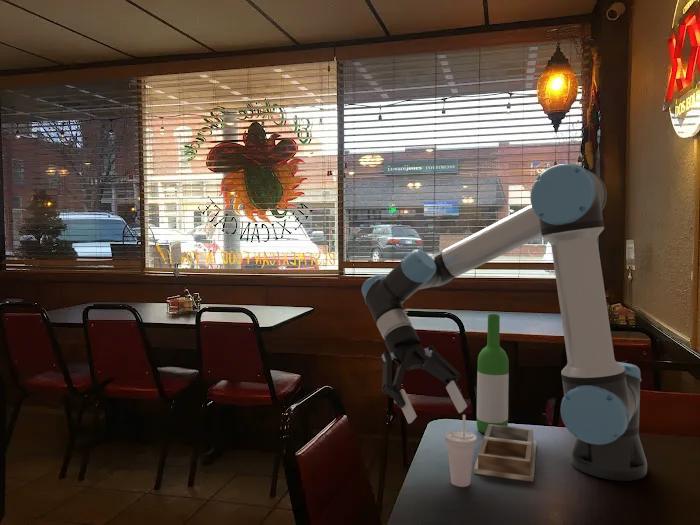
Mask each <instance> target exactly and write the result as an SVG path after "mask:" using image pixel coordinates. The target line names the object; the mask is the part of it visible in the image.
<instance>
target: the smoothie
mask: <svg viewBox="0 0 700 525" xmlns="http://www.w3.org/2000/svg"><path fill="white" fill-rule="evenodd" d="M466 417H467V416H466V414H462V430H454V431H449V432H446V434H445V437H444V438H445V439H444V441H445V442H446V446H447V454H448V466H449V472H450V481H451V482H450V483H451V485H453V486H455V487H458V488H465V487H469V486H470V484H471V478H472V472H473V465H474V463H473V462H474V456H475V449H476V445H477V443H478V436H477V435H475V434H474V433H473V432H469V431H466V421H467V420H466Z"/></svg>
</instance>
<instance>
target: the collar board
mask: <svg viewBox="0 0 700 525" xmlns="http://www.w3.org/2000/svg"><path fill="white" fill-rule="evenodd" d="M536 456H537V441H536V440H534V428H529V427H528V428H527V427H526V428H525V427H517V426H512V425H511V426H510V425H508V426H502V425H493V424H488V427H487V430H486V433H485V434H484V436H483V439H482V442H481V445H480V447H479V450H478V454H477V459H476V462H475V465H474V468H473V474H475V475H484V476H488V477H489V476H490V477H498V478H505V479H511V480H518V481H525V482H531V483H534V481H535V480H534V479H535V467H536Z"/></svg>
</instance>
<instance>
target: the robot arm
mask: <svg viewBox="0 0 700 525" xmlns="http://www.w3.org/2000/svg"><path fill="white" fill-rule="evenodd" d="M607 196H608V195H607V188H606V185H605V183H604V182H603V180H602V179H601V177H599V176H598V175H597V174H596V173H594V172H592V171H591V170H588V169H586V168H584V167H583V166H580V165H578V164H573V163H561V164H556V165H553V166H551V167H550V166H549V167H548V168H547V169H545V170H544V171H542V172H541V173H540V174H539V175H538V176H537V177H536V179H535V180H534V181H533V184H532V186H531V189H530V196H529V197H530V198H529V199H530V205H527V206H526V207H524V208H521V209H519V210H518V211H515V212H514V213H512V214H510V215H508V216H506V217H504V218H502V219H500V220H498V221H497V222H494V223H493V224H490V225H488V226H487V227H485V228H483V229H481V230H479V231H476V232H474V233H473V234H471V235H469V236H467V237H466V238H464V239H461V240H459V241H458V242H456V243H454V244H452V245H450V246H448V247H446V248H445V249H442V250H440V251H438V252H436V253H435V254H433V255H431V256H430V255H429V254H428V253H427V252H425V251H423V250H421V249H418V248H417V249H414V250H412V251H410V253H409V254H407V255H405V256H404V257H403V258H402V260H400V262H399V263H398V264H397V265H396V266H395V267H394V268H392V270H390V272H388V273H387V274H386V275H384V274H376V275H372V276H371V277H370V278H367V279H366V280H365V281H364V282H363V284H362V286H361V294H362V296H363V298H364V302H365V305H366V306H367V308H368V310H369V311H370V313H371V315H372V318H373V319H374V321H375V324H376V327H377V328H378V330H379V333H380V335H381V337H382V339H383V340H384V344H385V346H386V348H387V349H388V350H387V349H386V350H384V352H383V353H382V354H381V356H380V360H381V363H382V381H381V382H382V383H381V393H382V394H383V395H387V394H388V396H389V397H390V398H393V399H394V402H395V404H396V405H397V406H396V407H397V408H399V409H401V410H402V413H403V415H404V417H405V419H406V421H407V424H412V423H413V422H414V421H415V419H416V418H417V414H416V411H415V409H414V407H413V405H412V403H411V401H410V399H409V396H408V395H407V392H406V391H405V389H404V388H401V386H402V383H403V380H404V376H405V372H406V370H407V371H411V370H419V369H420V370H422V371H426V372H427V373H429V374H430V375H432V376H433V377H435V378H437V379H438V380H439V381H441V382H442V383H444V384H445V385H446V386H445V389H446V391H447V393H448V395H449V397H450V398H451V401H452V403H453V405H454V407H455V410H457V412H458V414H461V413H463V412H464V410H466V408H468V404H467V403H466V400H465V399H464V397H463V392H462V389H461V388H460V386H459V384H458V380H459V379H460V378H461V376H462V374H461V372H459V371H458V370H457V369H456V368H455V367H454V366H453V365H452V364H451V363H450V362H449V361H447V359H445V358H444V357H443V356H442V355H441V354H440V353H439V352H438V350H437V349H436V347H435V346H434V345H433V344H430V345H429V346H428V347H422V345H421V343H420V337H419V335H418V333H417V332H416V330H415V328H414V327H413V323H412V322H411V320H410V318H409V316H408V314H407V312H406V310H405V309H404V305H403V304H404V303H405V302H406V301H407V300H408V299H409V298H410V297H412V296H413V295H414V294H415V293H416V292H417V291H419V290H423V289H429V288H435V287H437V288H438V287H442V286H445V285H447V284H448V283H450V282H451V281H452V280H454V279H455V278H456V277H459V276H461V275H463V274H465V273H468V272H469V271H472V270H474V269H476V268H479V267H480V266H482V265H484V264H486V263H489V262H491V261H493V260H495V259H497V258H499V257H501V256H503V255H505V254H507V253H509V252H511V251H513V250H515V249H518V248H520V247H522V246H524V245H526V244H529V243H530V242H533V241H534V240H537V239H539V238H540V237H541V238H542V239H544V240H545V241H546V242H547V243H549V245H551V246H550V247H551V252H552V253H551V255H552V260H553V268H554V274H555V281H556V289H557V296H558V303H559V310H560V316H561V323H562V330H563V338H564V345H565V352H566V357H567V358H566V360H567V363H566V365H565V366H564V367H563V369H562V370H561V371H560V372H561V380H562V388H563V397H562V399H561V403H560V417H561V419H562V422H563V424H564V426H565V428H566V429H567V430H568V432H570V434H572V435H573V436H574V437H575V440H574V442H573V444H572V447H571V450H570V464H571V465H572V466H573V467H574V468H575V469H577V470H579V471H580V472H582V473H584V474H586V475H590V476H593V477H596V478H600V479H605V480H610V481H623V482H627V481H636V480H640V479H643V478H645V477H646V475H648V474H647V473H648V462H647V458H646V455H645V451H644V448H643V445H642V442H641V439H640V406H641V405H640V400H641V398H640V397H641V382H642V378H641V370H640V368H639V367H638V366H637V365H636V364H632V363H627V362H621V361H616V359H615V354H614V352H615V351H614V345H613V339H612V332H611V327H610V319H609V313H608V312H609V311H608V304H607V298H606V292H605V284H604V276H603V270H602V263H601V258H600V257H601V256H600V250H599V244H598V237H599V235H600V234H601V233H602V232H603V231H604V230H605V224H604V218H603V210H604V208H605V205H606V203H607V198H608V197H607ZM393 361H394V362H395V363H397V368H396V371H395V372H396V373H395V376H394V379H393Z"/></svg>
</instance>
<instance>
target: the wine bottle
mask: <svg viewBox="0 0 700 525" xmlns="http://www.w3.org/2000/svg"><path fill="white" fill-rule="evenodd" d="M500 322H501V321H500V314H496V313H490V314H488V315H487V333H486V334H487V340H486V341H487V344H486V346H485V347H483V348H482V349H481V350H480V352H479V354H478V356H477V370H476V371H477V372H476V373H477V374H476V375H477V376H476V377H477V378H476V382H477V383H476V429H477V430H478V431H479V432H480V433H482V434H484V435H485V433H486V430H487V427H488V424H493V425H502V426H509V383H510V382H509V380H510V379H509V378H510V376H509V371H510V370H509V366H510V365H509V363H510V361H509V357H508V354H507V353H506V351H505V350H504V349H503V348H502V347H501V346H500V325H501V324H500Z"/></svg>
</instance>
